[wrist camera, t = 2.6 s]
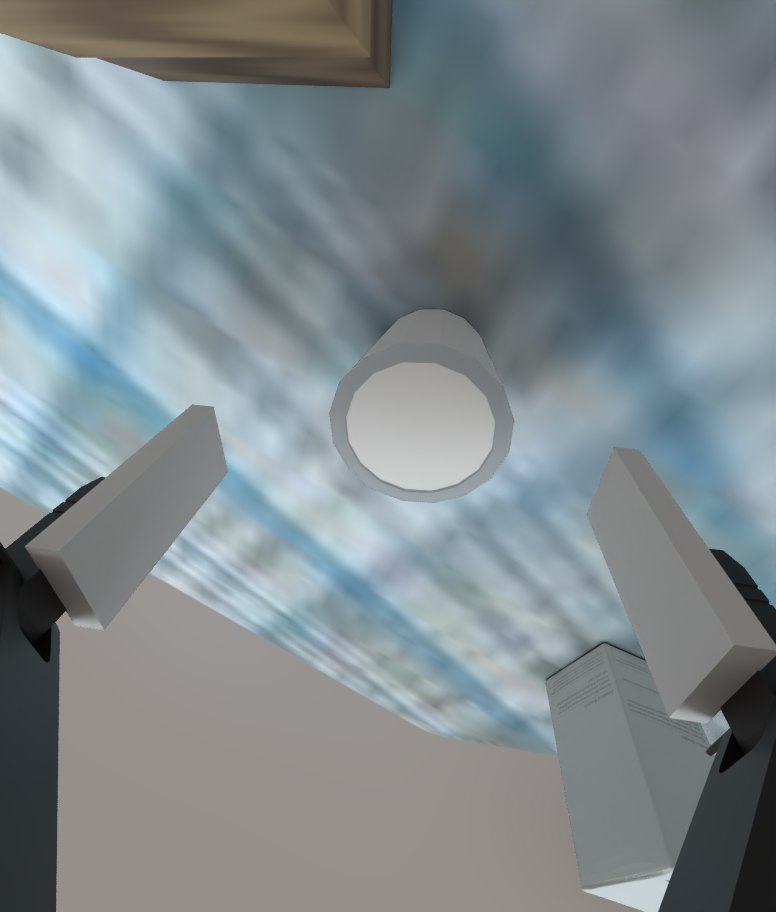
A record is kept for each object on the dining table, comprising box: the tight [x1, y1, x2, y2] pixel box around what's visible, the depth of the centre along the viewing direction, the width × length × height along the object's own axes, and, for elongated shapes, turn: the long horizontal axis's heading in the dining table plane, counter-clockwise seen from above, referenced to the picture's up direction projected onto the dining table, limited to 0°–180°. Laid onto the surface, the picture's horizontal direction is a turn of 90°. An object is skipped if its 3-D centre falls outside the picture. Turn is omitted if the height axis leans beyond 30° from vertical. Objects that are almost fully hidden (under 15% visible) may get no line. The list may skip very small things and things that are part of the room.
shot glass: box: [329, 309, 514, 503], centre depth 18 cm, size 7×7×7 cm
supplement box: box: [546, 643, 715, 912], centre depth 28 cm, size 7×7×13 cm
